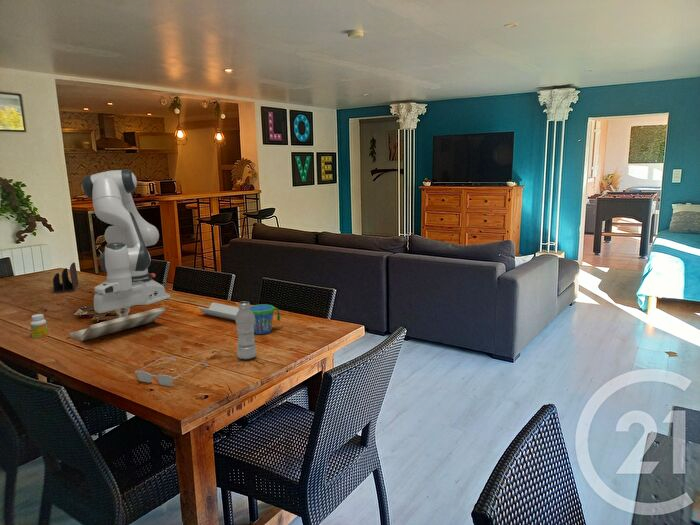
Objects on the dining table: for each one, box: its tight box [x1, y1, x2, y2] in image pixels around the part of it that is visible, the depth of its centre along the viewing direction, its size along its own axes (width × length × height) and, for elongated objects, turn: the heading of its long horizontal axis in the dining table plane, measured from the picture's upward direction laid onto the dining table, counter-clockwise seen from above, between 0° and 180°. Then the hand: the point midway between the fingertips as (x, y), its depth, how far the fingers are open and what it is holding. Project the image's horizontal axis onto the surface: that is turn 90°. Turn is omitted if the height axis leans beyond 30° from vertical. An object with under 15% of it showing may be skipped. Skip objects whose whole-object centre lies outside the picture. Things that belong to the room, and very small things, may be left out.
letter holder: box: [52, 262, 79, 294], centre depth 277 cm, size 10×20×14 cm, turn 23°
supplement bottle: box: [30, 313, 49, 339], centre depth 194 cm, size 5×5×10 cm
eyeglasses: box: [134, 357, 209, 387], centre depth 160 cm, size 15×18×4 cm
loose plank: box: [80, 306, 166, 342], centre depth 196 cm, size 30×12×2 cm
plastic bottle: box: [234, 300, 257, 360], centre depth 170 cm, size 6×7×20 cm
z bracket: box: [197, 302, 239, 321], centre depth 220 cm, size 12×25×6 cm
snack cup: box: [249, 303, 281, 335], centre depth 198 cm, size 16×10×10 cm
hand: (123, 318), depth 196 cm, fingers closed
